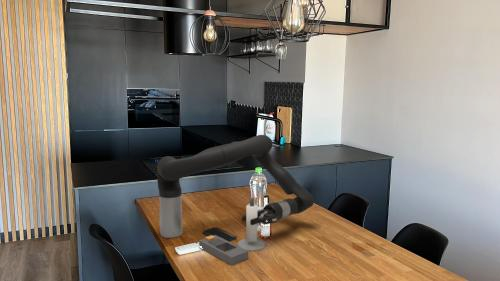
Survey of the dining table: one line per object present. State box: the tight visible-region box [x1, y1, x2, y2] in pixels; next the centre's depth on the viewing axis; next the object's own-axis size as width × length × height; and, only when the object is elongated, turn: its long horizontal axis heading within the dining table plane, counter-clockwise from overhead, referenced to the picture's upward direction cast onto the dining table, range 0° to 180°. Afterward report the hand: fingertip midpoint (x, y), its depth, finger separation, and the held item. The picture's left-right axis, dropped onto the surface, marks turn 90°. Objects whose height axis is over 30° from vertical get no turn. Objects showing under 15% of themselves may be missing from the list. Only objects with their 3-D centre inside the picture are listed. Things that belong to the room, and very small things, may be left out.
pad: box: [237, 238, 266, 252], centre depth 158 cm, size 11×11×1 cm
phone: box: [201, 226, 238, 242], centre depth 167 cm, size 8×1×15 cm
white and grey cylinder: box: [245, 197, 259, 242], centre depth 157 cm, size 4×4×17 cm
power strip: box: [198, 235, 249, 266], centre depth 151 cm, size 20×8×4 cm, turn 42°
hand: (246, 220), depth 155 cm, fingers closed on white and grey cylinder, 4 cm apart
